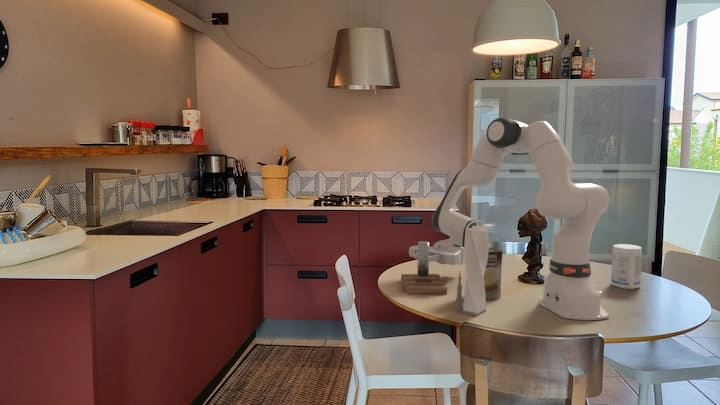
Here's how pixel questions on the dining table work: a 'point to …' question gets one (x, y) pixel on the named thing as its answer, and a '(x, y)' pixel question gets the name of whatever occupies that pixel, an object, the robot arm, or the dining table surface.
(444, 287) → the slot plate
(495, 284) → the coffee box
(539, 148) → the robot arm
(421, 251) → the steel pin
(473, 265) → the skyscraper
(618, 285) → the supplement tub
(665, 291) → the dining table surface
